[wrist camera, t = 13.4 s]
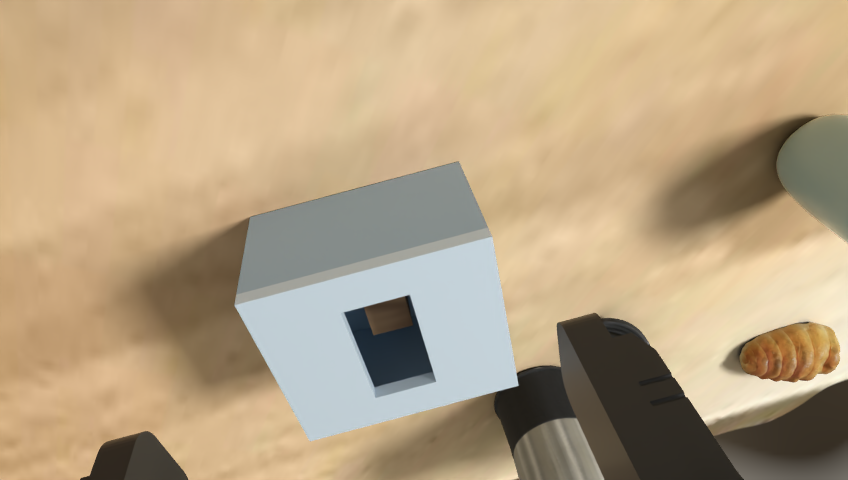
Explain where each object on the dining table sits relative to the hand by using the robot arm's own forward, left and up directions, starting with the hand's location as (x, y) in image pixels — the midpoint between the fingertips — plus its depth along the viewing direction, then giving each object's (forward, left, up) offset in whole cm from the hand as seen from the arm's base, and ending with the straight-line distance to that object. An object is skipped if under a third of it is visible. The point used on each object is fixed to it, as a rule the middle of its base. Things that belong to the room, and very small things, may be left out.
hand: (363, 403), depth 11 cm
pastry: (-36, +44, -31) cm, 64 cm away
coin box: (+2, +19, -30) cm, 36 cm away
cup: (-34, +19, -30) cm, 49 cm away
